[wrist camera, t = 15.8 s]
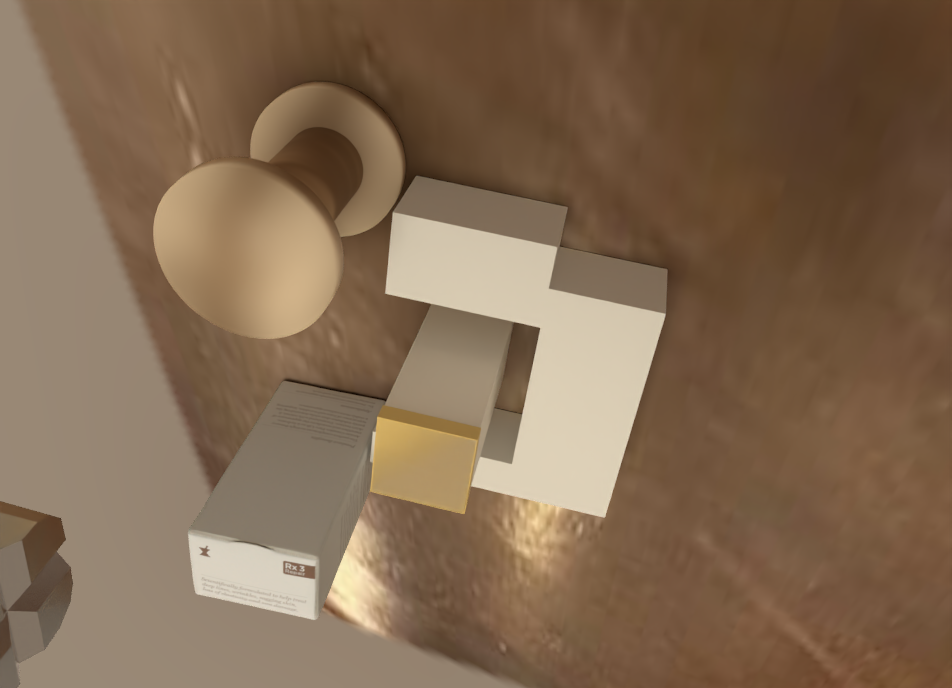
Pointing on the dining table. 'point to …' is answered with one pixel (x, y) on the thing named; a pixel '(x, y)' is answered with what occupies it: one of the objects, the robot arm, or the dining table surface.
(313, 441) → the skincare box
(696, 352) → the dining table surface
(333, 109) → the spool
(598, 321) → the notched board
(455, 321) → the gold trimmed white carton
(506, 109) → the dining table surface
